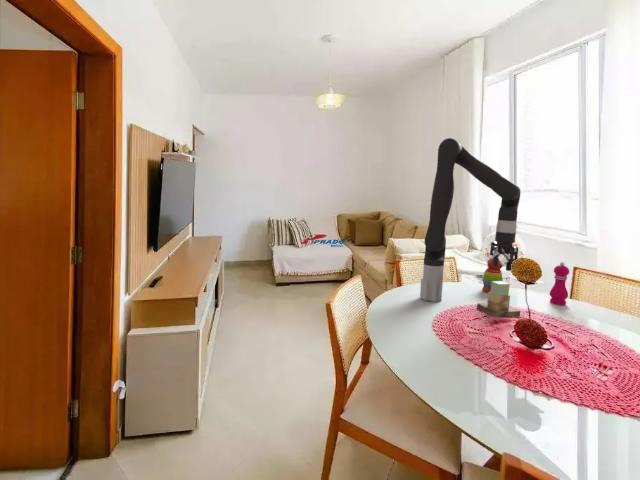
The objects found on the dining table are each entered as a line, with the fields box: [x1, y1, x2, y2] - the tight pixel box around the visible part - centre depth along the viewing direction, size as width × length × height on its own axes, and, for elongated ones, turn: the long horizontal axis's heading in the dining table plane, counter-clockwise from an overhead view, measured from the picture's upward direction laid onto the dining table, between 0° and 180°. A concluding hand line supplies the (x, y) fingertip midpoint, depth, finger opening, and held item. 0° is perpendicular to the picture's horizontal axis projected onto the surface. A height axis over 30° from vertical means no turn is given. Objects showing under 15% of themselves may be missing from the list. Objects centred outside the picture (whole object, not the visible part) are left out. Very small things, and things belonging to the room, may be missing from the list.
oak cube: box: [487, 292, 511, 310], centre depth 152 cm, size 6×6×6 cm
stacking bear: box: [482, 257, 504, 293], centre depth 184 cm, size 11×10×18 cm
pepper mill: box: [549, 261, 570, 306], centre depth 164 cm, size 7×7×20 cm
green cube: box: [491, 280, 510, 296], centre depth 151 cm, size 5×5×5 cm
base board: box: [476, 302, 521, 318], centre depth 153 cm, size 12×12×2 cm
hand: (501, 268), depth 150 cm, fingers open, 8 cm apart
